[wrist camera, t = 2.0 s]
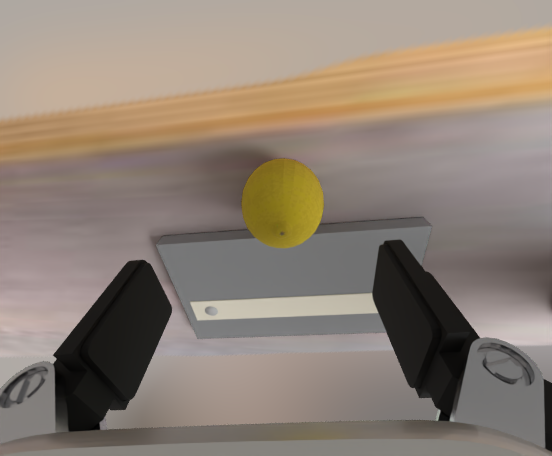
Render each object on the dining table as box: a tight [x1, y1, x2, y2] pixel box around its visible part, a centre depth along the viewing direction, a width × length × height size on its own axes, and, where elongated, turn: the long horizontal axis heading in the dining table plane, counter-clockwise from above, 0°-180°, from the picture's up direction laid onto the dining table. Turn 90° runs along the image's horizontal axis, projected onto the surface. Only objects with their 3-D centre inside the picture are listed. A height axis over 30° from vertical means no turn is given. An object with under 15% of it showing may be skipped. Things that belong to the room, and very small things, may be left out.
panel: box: [156, 217, 432, 339], centre depth 25 cm, size 24×14×2 cm, turn 96°
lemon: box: [241, 158, 324, 248], centre depth 17 cm, size 6×6×8 cm
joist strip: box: [190, 293, 378, 320], centre depth 26 cm, size 22×3×1 cm, turn 96°
